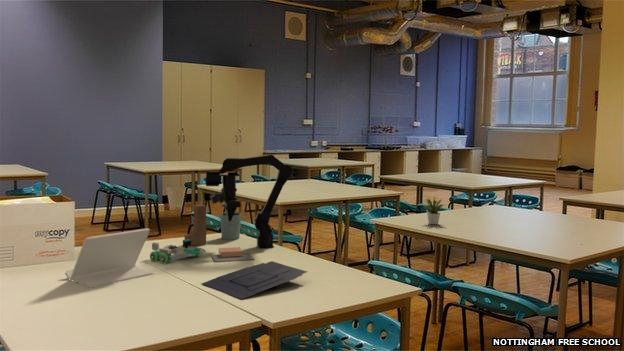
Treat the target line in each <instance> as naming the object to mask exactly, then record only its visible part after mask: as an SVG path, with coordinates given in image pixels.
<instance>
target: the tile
mask: <svg viewBox="0 0 624 351" xmlns="http://www.w3.org/2000/svg"><path fill="white" fill-rule="evenodd" d="M243 253H244V250H243V249H242V248H241V247H240V246H235V247H218V255H219V254H220V256H221V257H236V256H243Z"/></svg>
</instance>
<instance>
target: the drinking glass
mask: <svg viewBox="0 0 624 351" xmlns="http://www.w3.org/2000/svg"><path fill="white" fill-rule="evenodd" d="M219 217H220V231H221V239H222V240H225V241H226V240H227V241H234V240H239V239H240V237H241V224H242V222H241V221H242V213H241V212H236V211H235V213H234V215H233V217H232V220H231V221H228V217H227V213H226V211H225V212H221V213H220V216H219Z"/></svg>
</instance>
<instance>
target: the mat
mask: <svg viewBox="0 0 624 351" xmlns="http://www.w3.org/2000/svg"><path fill="white" fill-rule="evenodd" d="M210 256H211V258H212V260H213V262H214V263H223V262H240V261H241V262H243V261H254V260H255V258H253V256H252V255H251V254H250V253H249V252H243V256H236V257H221V256H220V254H219V253H218V254H211V255H210Z"/></svg>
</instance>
